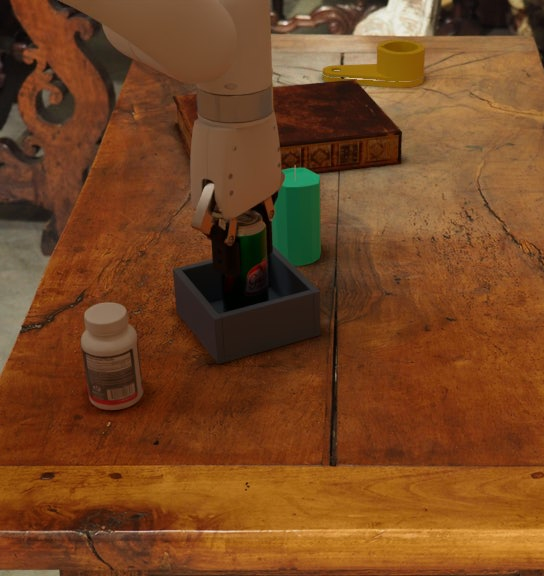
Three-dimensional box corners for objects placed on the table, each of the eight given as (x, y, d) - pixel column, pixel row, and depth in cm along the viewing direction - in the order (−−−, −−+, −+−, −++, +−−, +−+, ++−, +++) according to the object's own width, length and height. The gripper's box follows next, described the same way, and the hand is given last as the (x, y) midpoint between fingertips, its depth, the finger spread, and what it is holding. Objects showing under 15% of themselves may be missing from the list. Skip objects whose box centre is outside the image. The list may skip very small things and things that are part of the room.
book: (201, 186, 150) (199, 153, 148) (175, 125, 170) (172, 95, 167) (401, 163, 159) (402, 132, 156) (354, 108, 178) (354, 79, 176)
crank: (422, 72, 195) (423, 39, 192) (424, 87, 188) (426, 54, 185) (323, 71, 194) (323, 38, 191) (321, 86, 187) (321, 53, 184)
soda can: (254, 331, 116) (250, 231, 110) (214, 320, 117) (208, 221, 111) (278, 309, 120) (274, 212, 114) (239, 299, 121) (233, 203, 115)
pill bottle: (101, 378, 110) (89, 295, 105) (151, 383, 109) (142, 300, 104) (80, 409, 105) (67, 324, 100) (133, 415, 104) (122, 329, 99)
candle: (293, 270, 130) (290, 180, 124) (263, 253, 134) (259, 164, 128) (331, 255, 133) (330, 166, 127) (300, 238, 137) (299, 151, 131)
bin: (217, 364, 112) (214, 319, 109) (176, 311, 121) (172, 268, 118) (320, 335, 117) (320, 290, 115) (273, 286, 126) (272, 244, 124)
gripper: (255, 71, 114) (261, 223, 123) (148, 119, 101) (164, 286, 110) (314, 83, 111) (316, 239, 120) (212, 135, 98) (223, 306, 107)
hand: (243, 260), depth 115 cm, fingers closed on soda can, 5 cm apart
